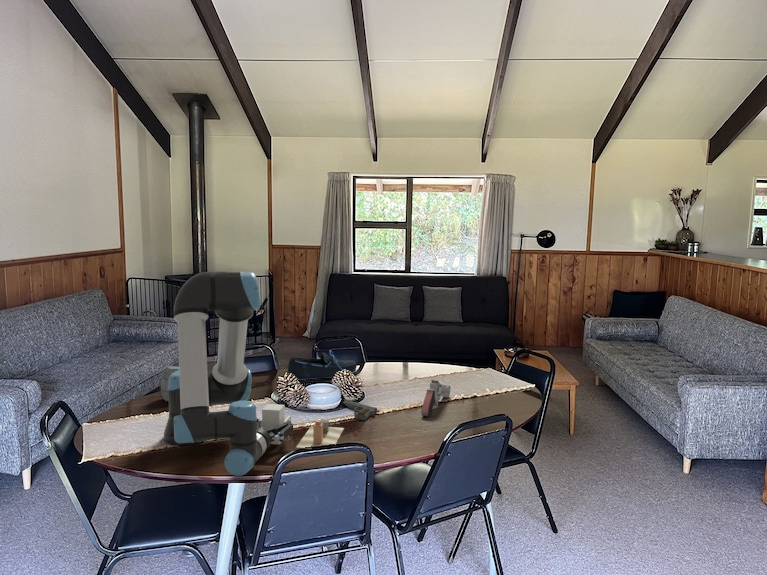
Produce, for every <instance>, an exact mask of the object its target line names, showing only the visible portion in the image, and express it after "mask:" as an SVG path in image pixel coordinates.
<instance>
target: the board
mask: <svg viewBox="0 0 767 575" xmlns="http://www.w3.org/2000/svg"><path fill="white" fill-rule="evenodd" d="M320 420H321V423H323V442H322V443H321V444H316V443H313V426H314V425H311V426H309V428H308V430H307V431H306V432H305V434H304V435H303V437H302V438H301V439H300V441H299V442H298V443H297V445H296V448H298V449H300V448H301V449H306V448H305V447H311V446H321V445H329V444H335V445H336V444H337V442H338V441H339V439H340V437H341V435H342V433H343V431H344V430H345V428H344V427H335V426H329V424H330V423H329V422H330V421H329V419H320Z"/></svg>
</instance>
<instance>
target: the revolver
mask: <svg viewBox="0 0 767 575" xmlns="http://www.w3.org/2000/svg"><path fill="white" fill-rule="evenodd" d="M450 396H451V386H450V385H445V384H444V385H443V384H441V383H440V381H438V380H434V379H431V382H429V388H427V390H426V393H425V396H424V399H423V403H422V406H421V416H422V417H428V418H429V417H431V414H432V411H433V407H438V405H439V401H441V398H442V397H443V398H447V399H449V398H450Z"/></svg>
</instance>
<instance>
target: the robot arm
mask: <svg viewBox="0 0 767 575" xmlns="http://www.w3.org/2000/svg"><path fill="white" fill-rule="evenodd" d="M260 297H261V296H260V290H259V283H258V279H257V275H256V274H255V273H254V272H251V271H242V270H241V271H217V272H215V271H212V272H210V271H203V272H199V273H197V274H194V275H193V276H191V277H190V278H188V280H186V281H185V282H184V283H183V284H182V286H181V288H180V289H179V291H178V293H177V295H176V298H175V301H174V304H173V320H174V321H175V322H176V323H177V339H178V340H177V341H178V342H177V343H178V345H177V346H178V367H179V370H178V371H175V372H173V373H172V374H171V375H170V376H169V380H168V390H169V401H168V419H167V422H166V425H165V428H164V431H163V441H164V440H165V441H166V442H168V443H167V444H169V443H170V444H169V445H173V444H175V445H174V446H188V445H189V446H190V445H195V444H199V443H202V442H206V441H215V440H225V439H229V442H228V443H229V451H228V453H227V454H226V456H225V458H224V468H225V470H226V472H228V473H229V474H230V475H232V476H235V477H240V476H244V475H246V474H248V472H249V471H251V470H252V469H253V467H254V466H255V465H256V463H257V462H258V461H259V459H260V458H261V457H262V456H263V454H265V452H266V451H267V450H268V449H269V448H270V446H271V445H272V444H271V442H273V441H274V440H275V439H278V440H279V441H280V442H281V443H283V442H284V440H285V439H286V438H287V437H288V436H290V435H291V434H292V433H293V432H294V424H293V423H292V415H288V416H286V417H285V421H284V422H283V424H282V425H280V426H277V427H275V428H270V429H268V430H267V429H266V430H264V429H262V417H261V418H258V417H257V406H256V404H255V403H254V402H253V401H249V398H250V396H251V392H252V387H251V386H252V385H253V382H252V381H253V380H252V379H253V378H252V377H253V376H252V373H251V372H252V371H251V370H250V369H249V368H247V366H246V364H245V353H246V345H247V344H246V343H247V335H248V334H247V333H248V332H247V331H248V321H249V320H250V319H252V317H253V315H254V312H255V311H257V310H260V309H261V298H260ZM209 312H215V315H216V316H217V317H218V318H219V326H218V327H219V328H218V342H217V345H218V346H217V362H216V363H215V364H214V365H213V367H212V369H211V370H209V371H208V355H207V334H206V332H207V331H206V329H207V328H206V321H207V320H208V319H209ZM221 405H229V406H228V410H224V411H223V410H221V411H219V410H218V411H210V407H211V406H221ZM165 441H164V442H165ZM166 442H165V443H166Z"/></svg>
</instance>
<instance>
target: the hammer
mask: <svg viewBox="0 0 767 575" xmlns="http://www.w3.org/2000/svg"><path fill="white" fill-rule="evenodd" d="M178 370H179V366H173V365H172V366H170V365H169V366H166V368H165V370H163V372H162V376H161V380H160V394H161V397H162V399H163V400H164V401H165V402H169V390H168V380H169V376H170V375H171V374H172V373H173V372H175V371H178ZM252 381H253V382H252V384H251V388H254V387H255V386H256V380H255V379H253V378H252Z"/></svg>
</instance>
